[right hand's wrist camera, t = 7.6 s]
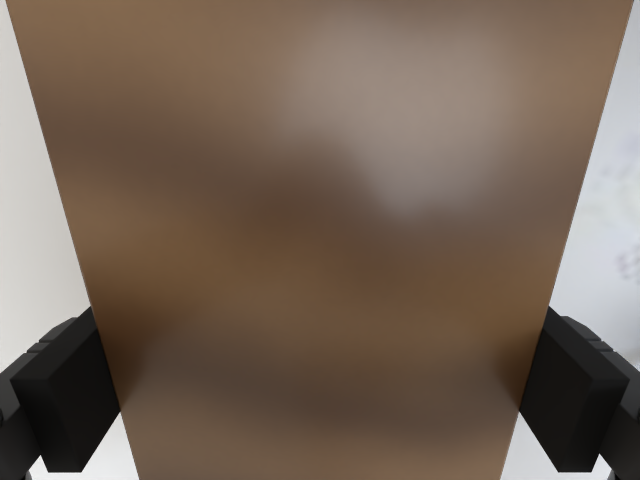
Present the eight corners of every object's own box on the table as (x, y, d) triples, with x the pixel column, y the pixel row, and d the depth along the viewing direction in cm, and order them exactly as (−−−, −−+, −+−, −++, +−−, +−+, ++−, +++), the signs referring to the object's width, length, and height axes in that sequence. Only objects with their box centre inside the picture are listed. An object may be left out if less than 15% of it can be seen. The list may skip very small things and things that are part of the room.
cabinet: (165, -152, 12) (-218, -780, 4) (473, -152, 12) (857, -780, 4) (222, 316, 20) (142, 494, 11) (417, 315, 20) (497, 494, 11)
